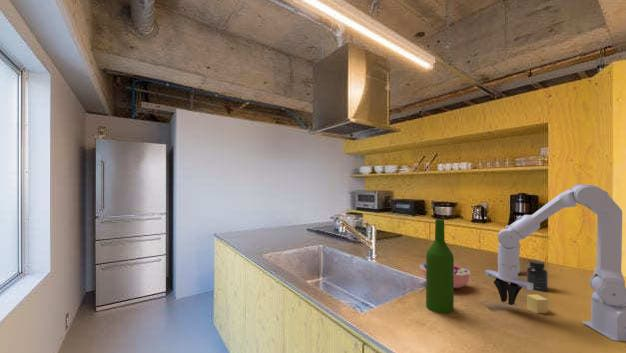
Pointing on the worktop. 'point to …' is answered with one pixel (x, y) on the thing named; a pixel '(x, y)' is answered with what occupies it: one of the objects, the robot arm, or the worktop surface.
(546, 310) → the ochre block
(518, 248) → the plastic bottle
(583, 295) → the worktop surface
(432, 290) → the wine bottle
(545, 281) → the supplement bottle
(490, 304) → the walnut base
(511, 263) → the robot arm
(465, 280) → the cell model
